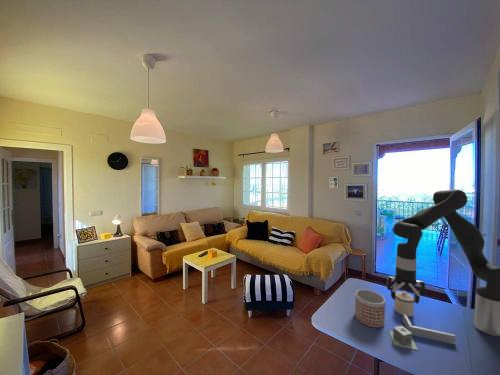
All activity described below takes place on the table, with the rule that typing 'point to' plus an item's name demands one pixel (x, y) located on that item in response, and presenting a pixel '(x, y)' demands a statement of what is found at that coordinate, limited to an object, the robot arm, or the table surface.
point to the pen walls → (428, 332)
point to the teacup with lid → (404, 303)
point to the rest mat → (410, 346)
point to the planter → (370, 308)
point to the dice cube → (402, 335)
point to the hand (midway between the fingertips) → (404, 300)
